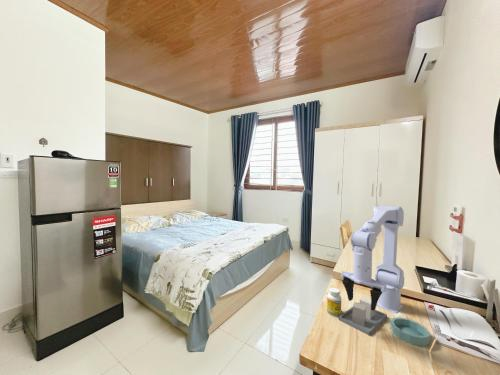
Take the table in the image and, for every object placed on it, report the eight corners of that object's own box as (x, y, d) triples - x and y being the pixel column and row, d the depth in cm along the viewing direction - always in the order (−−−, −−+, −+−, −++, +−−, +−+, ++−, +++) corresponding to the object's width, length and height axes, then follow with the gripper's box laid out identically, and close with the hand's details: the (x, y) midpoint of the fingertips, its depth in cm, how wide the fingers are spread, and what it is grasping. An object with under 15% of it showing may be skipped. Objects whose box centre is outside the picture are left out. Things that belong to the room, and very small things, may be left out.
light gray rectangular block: (354, 317, 83) (354, 302, 83) (365, 321, 81) (366, 305, 81) (352, 322, 80) (352, 306, 80) (364, 326, 78) (364, 310, 78)
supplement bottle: (332, 308, 90) (332, 285, 90) (343, 315, 85) (344, 291, 85) (324, 312, 87) (324, 288, 87) (335, 319, 82) (336, 294, 82)
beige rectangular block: (363, 311, 88) (364, 296, 88) (374, 315, 85) (374, 300, 85) (359, 314, 85) (359, 299, 85) (370, 319, 82) (370, 303, 82)
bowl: (396, 321, 82) (396, 314, 82) (432, 337, 74) (432, 328, 74) (386, 333, 75) (386, 325, 75) (425, 351, 67) (425, 342, 67)
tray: (358, 305, 92) (358, 302, 92) (386, 318, 84) (386, 314, 84) (338, 320, 82) (338, 316, 82) (369, 336, 73) (369, 332, 73)
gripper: (337, 262, 78) (336, 299, 78) (381, 275, 67) (380, 318, 67) (346, 258, 82) (345, 293, 82) (389, 270, 71) (388, 310, 71)
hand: (361, 304), depth 75 cm, fingers open, 7 cm apart
